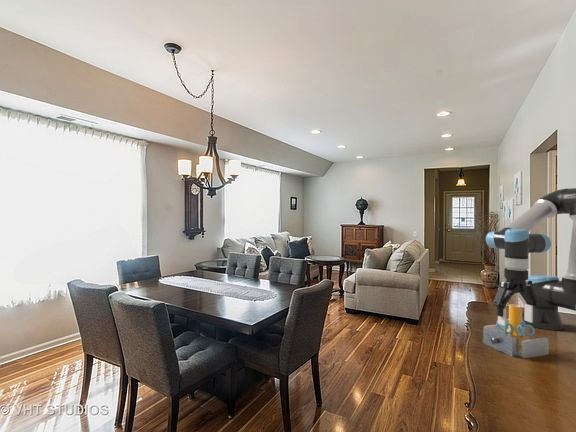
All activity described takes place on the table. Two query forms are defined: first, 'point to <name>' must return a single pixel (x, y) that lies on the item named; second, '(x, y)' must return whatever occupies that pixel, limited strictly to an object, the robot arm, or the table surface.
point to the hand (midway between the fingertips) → (515, 323)
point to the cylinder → (516, 323)
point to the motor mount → (514, 343)
